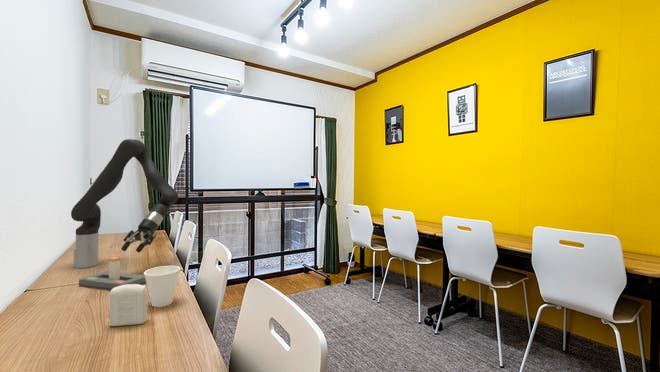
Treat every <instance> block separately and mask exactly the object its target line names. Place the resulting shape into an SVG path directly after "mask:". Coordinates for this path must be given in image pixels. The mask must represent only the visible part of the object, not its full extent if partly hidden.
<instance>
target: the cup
mask: <svg viewBox="0 0 660 372" xmlns="http://www.w3.org/2000/svg"><path fill="white" fill-rule="evenodd" d="M180 271H181V267H180V266H178V265H177V266H176V265H161V266H156V267H152V268H149V269H146V270H145V271H144V272H143V275H145V279H146V283H145V284H146V287H147V292H148V294H149V295H148V296H149V300H150V303H151V306H152V307H153V306H154V307H153V308H162V307H163V306H164V307H167V306H170V305H171V303H172V302H173V303H174V299H175V294H176V291H177V286H178V280H179V276H180ZM173 303H172V304H173ZM169 304H170V305H169ZM166 305H167V306H166Z"/></svg>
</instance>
